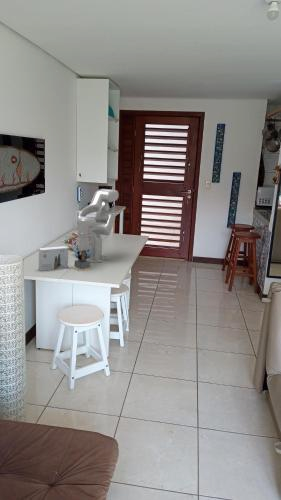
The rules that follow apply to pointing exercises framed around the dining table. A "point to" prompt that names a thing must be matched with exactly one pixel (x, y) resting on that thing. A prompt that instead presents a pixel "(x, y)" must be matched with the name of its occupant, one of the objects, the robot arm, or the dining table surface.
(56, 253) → the skincare box
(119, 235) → the dining table surface
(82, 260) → the peg
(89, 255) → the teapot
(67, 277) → the dining table surface
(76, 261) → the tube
